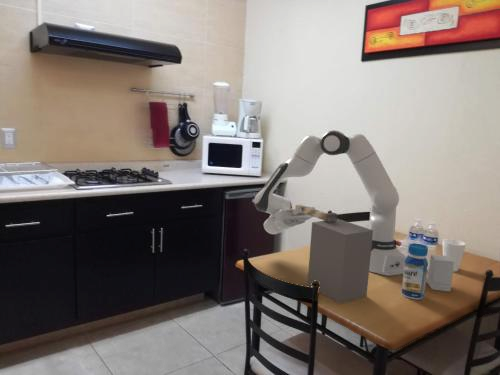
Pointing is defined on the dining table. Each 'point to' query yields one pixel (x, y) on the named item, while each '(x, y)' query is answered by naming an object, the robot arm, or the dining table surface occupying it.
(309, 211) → the bar
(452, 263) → the supplement box
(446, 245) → the foam cup
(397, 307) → the dining table surface
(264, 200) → the robot arm
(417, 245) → the beverage bottle
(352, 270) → the stand
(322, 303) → the dining table surface
